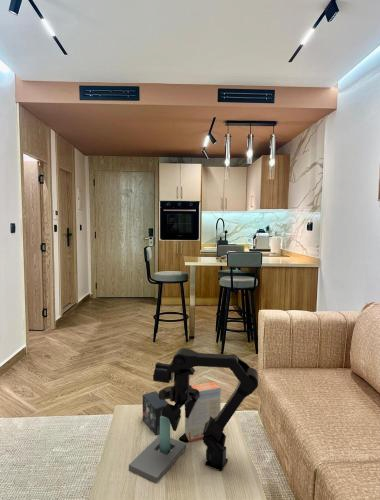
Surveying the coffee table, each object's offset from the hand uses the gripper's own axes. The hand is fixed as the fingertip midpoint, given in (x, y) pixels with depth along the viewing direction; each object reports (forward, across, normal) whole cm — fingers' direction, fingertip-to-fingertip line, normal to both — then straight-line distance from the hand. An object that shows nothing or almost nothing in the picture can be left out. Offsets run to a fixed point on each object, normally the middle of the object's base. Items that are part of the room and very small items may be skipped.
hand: (181, 424), depth 124 cm
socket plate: (+13, +5, -6) cm, 15 cm away
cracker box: (+13, -16, +1) cm, 21 cm away
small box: (+13, -12, -20) cm, 26 cm away
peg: (+13, +1, -6) cm, 15 cm away
